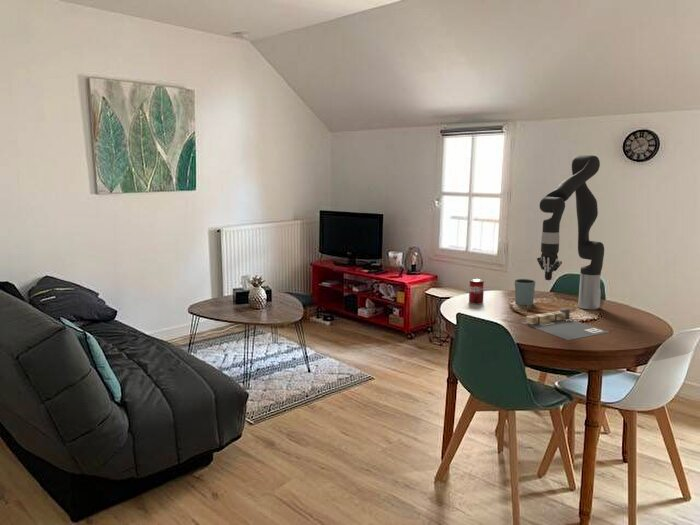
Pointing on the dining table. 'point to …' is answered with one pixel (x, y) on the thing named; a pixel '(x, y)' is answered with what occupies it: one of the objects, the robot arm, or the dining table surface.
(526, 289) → the teal cup
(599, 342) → the dining table surface
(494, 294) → the dining table surface
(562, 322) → the label mat
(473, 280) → the soda can
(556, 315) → the swing arm
